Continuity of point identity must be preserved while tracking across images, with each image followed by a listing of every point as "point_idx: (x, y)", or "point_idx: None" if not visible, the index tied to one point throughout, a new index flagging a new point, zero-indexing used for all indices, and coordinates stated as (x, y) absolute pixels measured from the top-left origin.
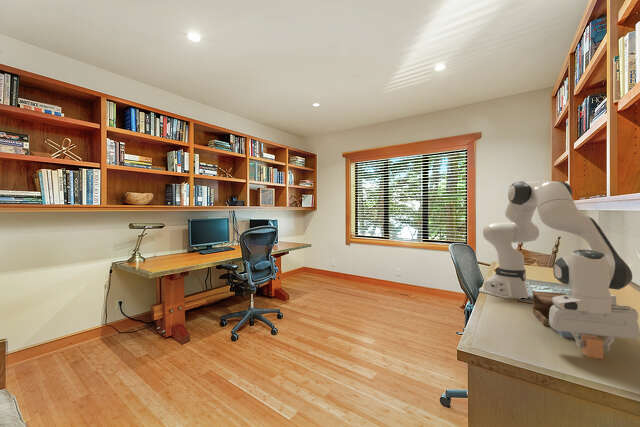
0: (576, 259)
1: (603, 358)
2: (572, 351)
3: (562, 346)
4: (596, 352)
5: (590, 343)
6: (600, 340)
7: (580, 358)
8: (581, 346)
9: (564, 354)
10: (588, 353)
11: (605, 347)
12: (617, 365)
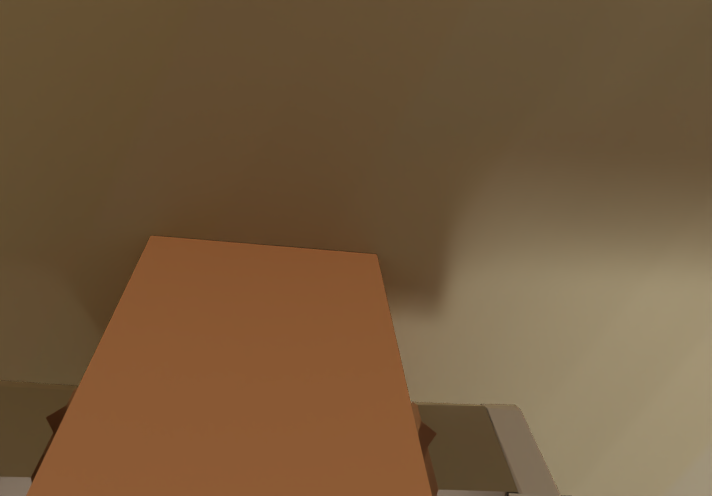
0: None
1: (147, 243)
2: (499, 383)
3: None
4: (241, 302)
5: (345, 446)
6: None
7: (541, 167)
8: (470, 404)
9: (709, 252)
10: (369, 290)
11: (10, 423)
12: (9, 32)
